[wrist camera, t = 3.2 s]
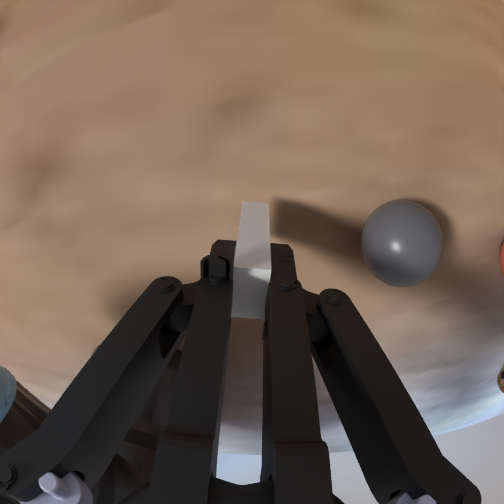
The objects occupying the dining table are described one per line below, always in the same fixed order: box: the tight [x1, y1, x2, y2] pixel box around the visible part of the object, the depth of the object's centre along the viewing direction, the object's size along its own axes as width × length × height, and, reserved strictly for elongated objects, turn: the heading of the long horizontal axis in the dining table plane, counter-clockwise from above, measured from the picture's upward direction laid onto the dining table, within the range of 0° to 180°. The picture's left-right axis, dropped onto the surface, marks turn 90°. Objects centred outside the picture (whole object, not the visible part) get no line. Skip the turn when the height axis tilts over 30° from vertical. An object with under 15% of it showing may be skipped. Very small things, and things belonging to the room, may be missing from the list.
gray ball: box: [361, 200, 443, 287], centre depth 18 cm, size 6×6×6 cm
